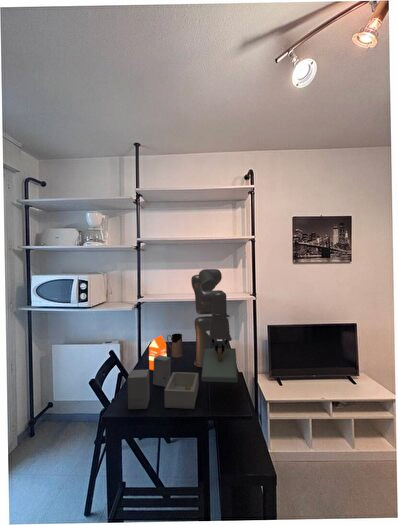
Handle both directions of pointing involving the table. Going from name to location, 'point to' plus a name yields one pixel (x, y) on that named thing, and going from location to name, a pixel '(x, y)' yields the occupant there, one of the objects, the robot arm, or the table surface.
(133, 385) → the supplement box
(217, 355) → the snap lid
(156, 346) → the orange juice
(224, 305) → the robot arm
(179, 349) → the brown pitcher
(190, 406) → the parts tub
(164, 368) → the skincare box
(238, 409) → the table surface
